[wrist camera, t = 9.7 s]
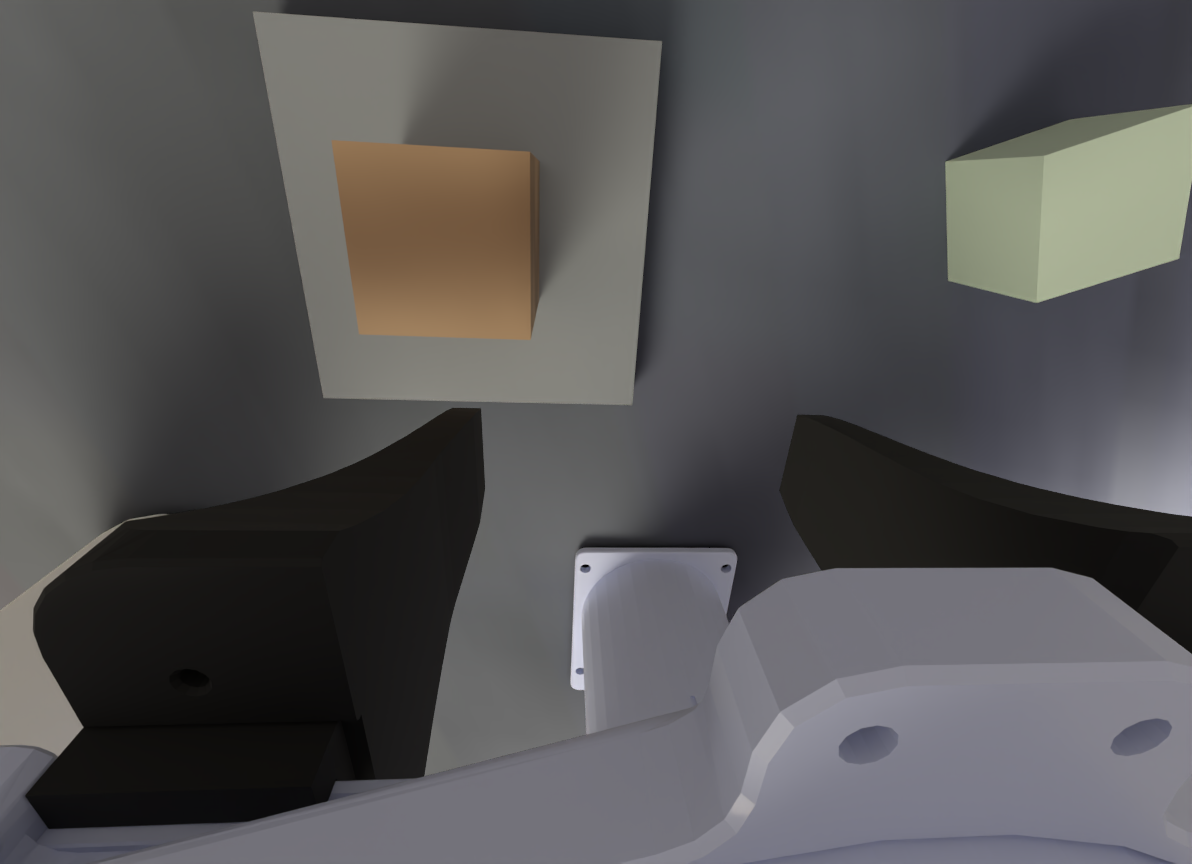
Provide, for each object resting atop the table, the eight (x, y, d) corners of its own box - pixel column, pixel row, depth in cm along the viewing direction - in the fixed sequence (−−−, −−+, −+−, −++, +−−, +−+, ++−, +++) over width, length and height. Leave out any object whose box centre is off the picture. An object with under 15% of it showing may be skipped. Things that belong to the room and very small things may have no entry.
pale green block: (1060, 243, 21) (1178, 258, 17) (946, 280, 21) (1036, 302, 17) (1068, 119, 19) (1204, 102, 15) (943, 161, 20) (1043, 155, 15)
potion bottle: (72, 505, 23) (-1057, 1243, 7) (266, 500, 24) (-380, 1184, 7) (141, 643, 27) (-508, 1348, 11) (308, 637, 27) (-69, 1304, 11)
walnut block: (539, 299, 19) (530, 340, 14) (412, 295, 19) (358, 334, 14) (539, 161, 17) (529, 151, 12) (399, 153, 17) (331, 140, 12)
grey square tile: (628, 391, 23) (632, 405, 21) (338, 384, 22) (323, 398, 20) (654, 52, 17) (662, 40, 16) (277, 25, 17) (252, 11, 15)
